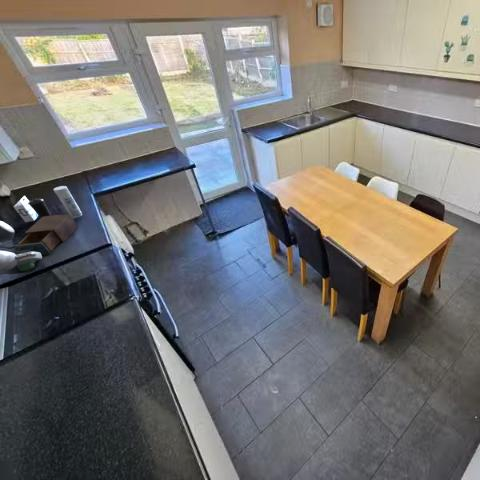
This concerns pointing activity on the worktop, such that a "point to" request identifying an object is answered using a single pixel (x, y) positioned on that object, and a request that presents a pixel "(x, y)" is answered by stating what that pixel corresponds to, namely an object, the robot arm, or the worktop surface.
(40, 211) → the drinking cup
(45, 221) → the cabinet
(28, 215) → the ink box
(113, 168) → the worktop surface
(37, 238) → the drawer
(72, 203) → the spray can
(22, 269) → the green can
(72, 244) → the worktop surface
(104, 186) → the worktop surface
